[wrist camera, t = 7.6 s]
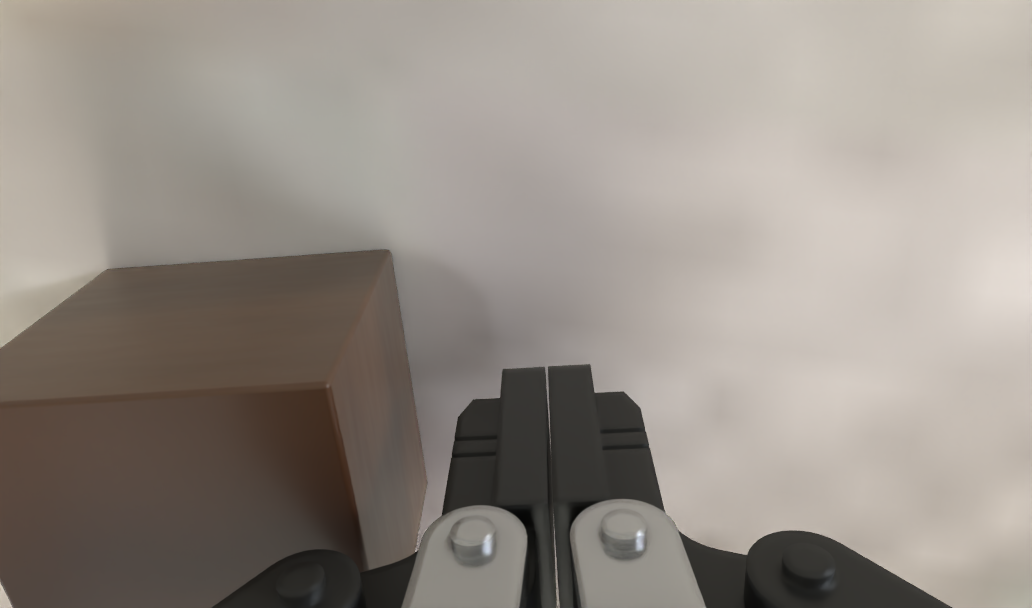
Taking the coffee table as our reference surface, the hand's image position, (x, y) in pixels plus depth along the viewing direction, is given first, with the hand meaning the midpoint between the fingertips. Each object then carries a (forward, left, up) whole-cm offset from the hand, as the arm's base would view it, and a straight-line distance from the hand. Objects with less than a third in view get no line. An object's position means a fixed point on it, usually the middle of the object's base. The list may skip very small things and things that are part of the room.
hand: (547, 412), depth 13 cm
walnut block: (0, -5, -1) cm, 5 cm away
